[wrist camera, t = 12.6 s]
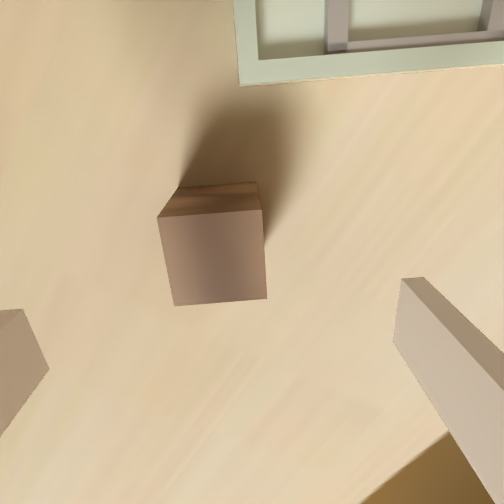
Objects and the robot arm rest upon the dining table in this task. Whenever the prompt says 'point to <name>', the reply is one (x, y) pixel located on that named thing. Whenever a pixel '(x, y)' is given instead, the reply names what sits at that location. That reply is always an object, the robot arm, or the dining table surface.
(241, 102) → the dining table surface
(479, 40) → the tray
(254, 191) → the block
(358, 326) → the dining table surface
